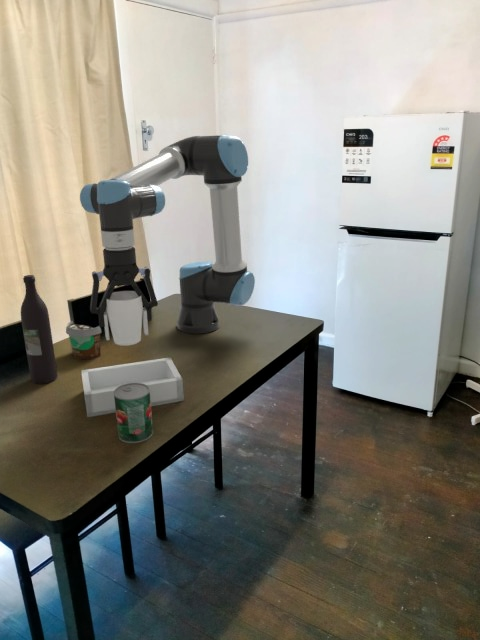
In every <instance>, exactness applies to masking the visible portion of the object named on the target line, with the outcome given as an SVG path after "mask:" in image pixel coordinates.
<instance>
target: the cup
mask: <svg viewBox="0 0 480 640" xmlns="http://www.w3.org/2000/svg"><path fill="white" fill-rule="evenodd" d="M143 306H144V304H143V303H142V298H141V296H140V297H139V296H138V295H137V293H136V292H135V290H118V291H113V292H112V294H111V297H110V299H109V300H108V299H107V307H106V309H105V312H106V313H107V319H108V325H109V327H110V331H111V335H112V340H113V343H114V344H115V345H118V346H126V347H127V346H133V345H136V344H138V343H139V342H141V340H142V328H143V327H142V325H143V315H142V314H143V308H144V307H143Z"/></svg>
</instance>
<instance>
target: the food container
mask: <svg viewBox="0 0 480 640" xmlns="http://www.w3.org/2000/svg"><path fill="white" fill-rule="evenodd" d="M65 328H66V329H65V333H66V334H67V335H68V337H69V342H70V346H71V350H72V355H73V357H74V358H75V359H79V360H91V359H95V358H99V357H101V354H102V353H101V352H102V351H101V334H102V327H101V326H100V325H98V326H96V327H92V326H90V325H87V324H77V323H74V322H73V320H71V321H70V322H68V323H67V325H66V327H65Z"/></svg>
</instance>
